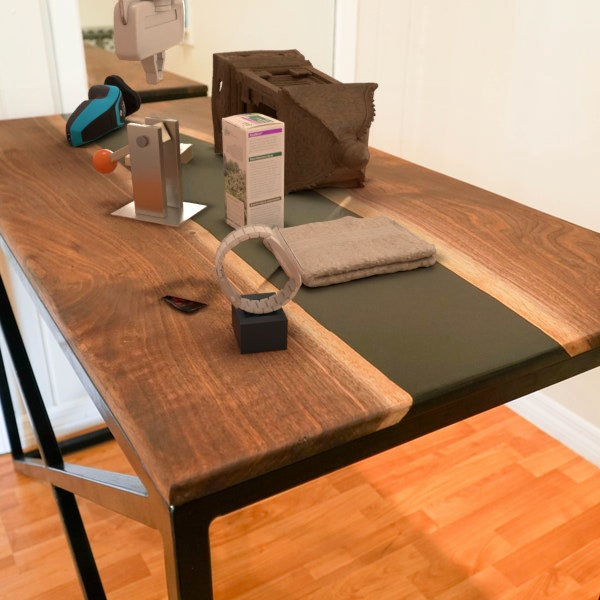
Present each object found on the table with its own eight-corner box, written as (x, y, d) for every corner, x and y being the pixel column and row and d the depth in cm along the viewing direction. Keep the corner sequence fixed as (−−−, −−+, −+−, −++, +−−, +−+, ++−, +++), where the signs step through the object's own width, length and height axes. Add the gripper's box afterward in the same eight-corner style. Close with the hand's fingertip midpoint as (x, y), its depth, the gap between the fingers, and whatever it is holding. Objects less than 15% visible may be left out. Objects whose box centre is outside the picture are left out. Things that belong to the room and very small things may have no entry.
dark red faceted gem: (192, 315, 65) (192, 311, 65) (153, 302, 67) (152, 297, 67) (220, 297, 69) (220, 293, 69) (182, 284, 71) (182, 280, 71)
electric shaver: (103, 114, 137) (149, 118, 136) (43, 159, 116) (96, 165, 115) (97, 71, 132) (145, 75, 131) (33, 110, 112) (88, 116, 110)
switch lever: (95, 179, 87) (83, 157, 86) (109, 173, 90) (98, 151, 89) (161, 147, 81) (148, 123, 80) (174, 141, 84) (162, 117, 83)
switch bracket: (111, 222, 86) (99, 124, 80) (144, 203, 93) (136, 111, 87) (177, 234, 83) (171, 134, 77) (207, 214, 90) (203, 119, 84)
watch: (307, 346, 61) (312, 237, 56) (221, 356, 59) (217, 244, 54) (293, 317, 66) (296, 214, 61) (213, 325, 64) (209, 219, 59)
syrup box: (285, 234, 84) (287, 120, 77) (245, 244, 81) (244, 126, 74) (261, 220, 88) (261, 111, 81) (223, 229, 85) (220, 116, 78)
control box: (148, 154, 114) (146, 131, 112) (193, 157, 113) (191, 134, 111) (125, 171, 105) (123, 146, 103) (173, 175, 104) (172, 150, 102)
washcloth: (441, 266, 77) (445, 242, 76) (305, 294, 70) (306, 268, 69) (386, 230, 87) (389, 208, 85) (261, 251, 79) (261, 228, 78)
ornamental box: (400, 224, 96) (431, 94, 88) (293, 227, 87) (317, 84, 79) (292, 154, 122) (308, 50, 114) (202, 151, 114) (213, 39, 106)
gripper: (141, -11, 87) (150, 97, 93) (189, -18, 104) (194, 73, 111) (96, -12, 87) (108, 94, 94) (151, -19, 105) (158, 71, 112)
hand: (155, 82), depth 103 cm, fingers closed
